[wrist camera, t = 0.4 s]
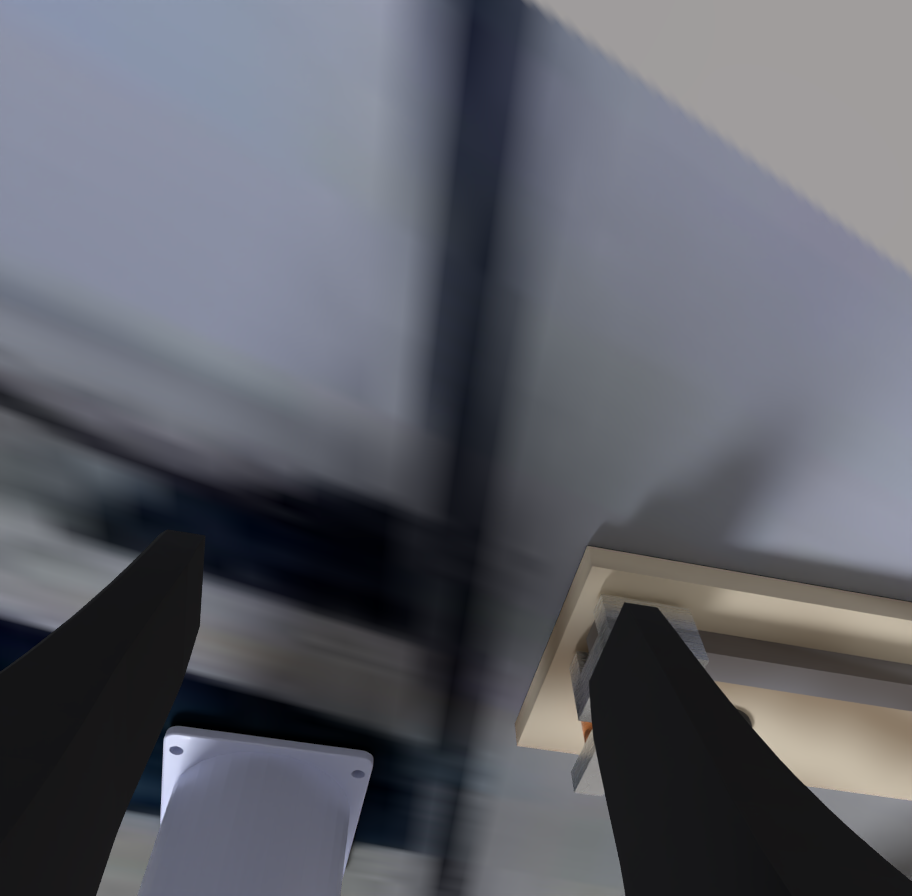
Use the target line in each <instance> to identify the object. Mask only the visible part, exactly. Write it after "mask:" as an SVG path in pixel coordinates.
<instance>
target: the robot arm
mask: <svg viewBox="0 0 912 896" xmlns="http://www.w3.org/2000/svg"><path fill="white" fill-rule="evenodd" d="M204 548H205V536H204V535H198V534H192V533H185V532H179V531H173V530H166V531H164V532H163V533H161V534H160V535H159V536H158V537H157V538H156V539H155V540H154V541H153V542H152V543H151V544H150V545H149V546H148V547H147V548H146V549H145V550H144V551H143V552H142V553H141V554H140V555H139V556H138V557H137V558H136V559H135V560H134V561H133V562H132V563H131V564H130V565H129V566H128V567H127V568H126V569H125V570H124V571H123V572H121V573H120V574H119V575H118V576H117V577H116V578H115V579H114V580H113V581H112V582H111V583H110V584H109V585H108V586H106V587H105V588H104V589H103V590H102V591H101V592H100V593H98V594H97V595H96V596H95V597H94V598H93V599H92V600H91V601H89V602H88V603H87V604H86V605H85V606H84V607H83V608H82V609H80V610H79V611H78V612H77V613H76V614H75V615H73V616H72V617H71V618H70V619H69V620H67V621H66V622H65V623H64V624H62V625H61V626H60V627H59V628H57V629H56V630H55V631H54V632H52V633H51V634H50V635H48V636H47V637H46V638H45V639H43V640H42V641H41V642H40V643H38V644H37V645H36V646H35V647H33V648H32V649H31V650H30V651H28V652H27V653H26V654H24V655H23V656H21V657H20V658H19V659H17V660H16V661H15V662H13V663H12V664H11V665H9V666H8V667H6V668H5V669H4V670H2V671H1V672H0V896H96V894H97V891H98V888H99V885H100V882H101V879H102V876H103V873H104V870H105V867H106V864H107V861H108V858H109V855H110V852H111V849H112V846H113V843H114V840H115V837H116V835H117V832H118V829H119V827H120V824H121V822H122V819H123V817H124V814H125V812H126V809H127V807H128V804H129V802H130V800H131V798H132V795H133V793H134V791H135V789H136V786H137V784H138V782H139V780H140V777H141V775H142V773H143V771H144V768H145V766H146V764H147V762H148V759H149V757H150V755H151V753H152V750H153V748H154V746H155V744H156V741H157V739H158V737H159V735H160V732H161V730H162V728H163V726H164V723H165V721H166V719H167V716H168V714H169V712H170V710H171V707H172V705H173V703H174V700H175V698H176V696H177V693H178V691H179V689H180V686H181V684H182V682H183V679H184V675H185V672H186V669H187V666H188V663H189V660H190V656H191V653H192V650H193V646H194V643H195V640H196V637H197V633H198V630H199V627H200V613H201V597H202V581H203V564H204ZM589 693H590V708H591V720H592V730H593V739H594V744H595V749H596V754H597V759H598V764H599V769H600V773H601V778H602V783H603V787H604V792H605V797H606V801H607V806H608V810H609V815H610V820H611V824H612V829H613V833H614V838H615V843H616V847H617V852H618V857H619V861H620V866H621V872H622V878H623V883H624V889H625V896H912V881H911V880H909V879H908V878H907V877H906V876H905V875H903V874H902V873H901V872H900V871H898V870H897V869H896V868H895V867H894V866H892V865H891V864H890V863H889V862H888V861H886V860H885V859H884V858H883V857H882V856H881V855H879V854H878V853H877V852H876V851H875V850H874V849H873V848H872V847H870V846H869V845H868V844H867V843H866V842H865V841H864V840H862V839H861V838H860V837H859V836H858V835H857V834H856V833H854V832H853V831H852V830H851V829H850V828H849V827H848V826H847V825H846V824H844V823H843V822H842V821H841V820H840V819H839V818H838V817H837V816H836V815H835V814H834V813H833V812H832V811H831V810H829V809H828V808H827V807H826V806H825V805H824V804H823V803H822V802H821V801H820V800H819V799H818V798H817V797H816V796H815V795H814V794H813V793H812V792H811V791H810V790H809V789H808V788H807V787H806V786H805V785H804V784H803V783H802V782H801V781H800V780H799V779H798V778H797V777H796V776H795V775H794V774H793V773H792V771H791V770H790V769H789V768H788V767H787V766H786V765H785V764H784V763H783V762H782V761H781V760H780V759H779V758H778V756H777V755H776V754H775V753H774V752H773V751H772V750H771V749H770V747H769V746H768V745H767V744H766V743H765V742H764V741H763V739H762V738H761V737H760V736H759V735H758V734H757V733H756V732H755V730H754V729H753V728H752V727H751V726H750V725H749V723H748V722H747V721H746V720H745V719H744V717H743V716H742V715H741V714H740V713H739V711H738V710H737V709H736V708H735V707H734V705H733V704H732V703H731V702H730V700H729V699H728V698H727V697H726V695H725V694H724V693H723V692H722V690H721V689H720V688H719V687H718V685H717V684H716V683H715V682H714V680H713V679H712V678H711V676H710V675H709V674H708V673H707V671H706V670H705V669H704V667H703V666H702V665H701V663H700V662H699V661H698V659H697V658H696V657H695V656H694V654H693V653H692V652H691V650H690V649H689V648H688V646H687V645H686V644H685V642H684V641H683V640H682V638H681V637H680V636H679V634H678V633H677V632H676V630H675V629H674V628H673V627H672V625H671V624H670V623H669V621H668V620H667V619H666V618H665V616H664V615H663V614H662V613H661V611H660V610H659V609H658V608H657V607H652V606H645V605H639V604H633V603H626V602H624V604H623V606H622V608H621V611H620V613H619V615H618V617H617V620H616V622H615V624H614V626H613V629H612V631H611V633H610V635H609V638H608V640H607V642H606V644H605V647H604V649H603V651H602V653H601V656H600V658H599V660H598V662H597V665H596V667H595V669H594V671H593V674H592V676H591V678H590V680H589ZM372 768H373V756H372V755H371V754H370V753H368V752H367V751H363V750H356V749H348V748H341V747H334V746H326V745H319V744H311V743H304V742H296V741H289V740H281V739H274V738H266V737H259V736H252V735H244V734H237V733H229V732H222V731H214V730H207V729H199V728H192V727H185V726H173V727H170V728H169V729H168V730H167V732H166V734H165V737H164V743H163V768H162V793H161V818H160V829H159V832H158V835H157V838H156V841H155V844H154V847H153V850H152V853H151V856H150V859H149V862H148V865H147V868H146V871H145V874H144V877H143V880H142V883H141V886H140V889H139V892H138V895H137V896H340V895H341V886H342V879H343V875H344V872H345V868H346V864H347V861H348V857H349V853H350V849H351V846H352V842H353V838H354V835H355V831H356V827H357V824H358V820H359V816H360V812H361V809H362V805H363V801H364V798H365V794H366V790H367V787H368V783H369V779H370V775H371V772H372Z"/></svg>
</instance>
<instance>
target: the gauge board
mask: <svg viewBox="0 0 912 896" xmlns="http://www.w3.org/2000/svg"><path fill="white" fill-rule="evenodd" d="M601 594H605V595H611V596H617V597H623V598H629V599H635V600H641V601H647V602H653V603H659V604H665V605H671V606H677V607H683V608H689V609H690V611H691V614H692V616H693V619H694V622H695V624H696V627H697V630H698V632H699V635H700V638H701V640H702V643H703V646H704V648H705V651H706V654H707V656H708V659H709V662H708V664H707V666H706V668H705V670H706V671H707V673H708V674H709V675H710V676H711V678H712V679H713V680H714V682H715V683H716V684H717V685H718V687H719V688H720V689H721V690H722V692H723V693H724V694H725V695H726V697H727V698H728V699H729V700H730V702H731V703H732V704H733V705H734V707H735V708H736V709H737V710H738V711H739V713H740V714H741V715H742V716H743V717H744V719H745V720H746V721H747V722H748V723H749V725H750V726H751V727H752V728H753V729H754V730H755V732H756V733H757V734H758V735H759V736H760V737H761V738H762V739H763V741H764V742H765V743H766V744H767V745H768V746H769V747H770V749H771V750H772V751H773V752H774V753H775V754H776V755H777V756H778V758H779V759H780V760H781V761H782V762H783V763H784V764H785V765H786V766H787V767H788V768H789V769H790V770H791V771H792V773H793V774H794V775H795V776H796V777H797V778H798V779H799V780H800V781H801V782H802V783H803V784H804V785H805V786H810V787H817V788H825V789H832V790H839V791H846V792H853V793H861V794H868V795H875V796H882V797H890V798H897V799H904V800H911V801H912V602H907V601H901V600H895V599H889V598H884V597H878V596H872V595H866V594H861V593H855V592H849V591H843V590H838V589H832V588H826V587H821V586H815V585H809V584H803V583H798V582H792V581H786V580H780V579H775V578H769V577H763V576H758V575H752V574H746V573H740V572H735V571H729V570H723V569H717V568H712V567H706V566H700V565H695V564H689V563H683V562H677V561H672V560H666V559H660V558H654V557H649V556H643V555H637V554H631V553H626V552H620V551H614V550H609V549H603V548H597V547H591V546H587V548H586V550H585V553H584V555H583V558H582V560H581V563H580V565H579V568H578V570H577V572H576V575H575V577H574V580H573V582H572V585H571V587H570V590H569V592H568V595H567V597H566V600H565V602H564V604H563V607H562V609H561V612H560V614H559V617H558V619H557V622H556V624H555V627H554V629H553V632H552V634H551V636H550V639H549V641H548V644H547V646H546V649H545V651H544V654H543V656H542V659H541V661H540V663H539V666H538V668H537V671H536V673H535V676H534V678H533V681H532V683H531V686H530V688H529V691H528V693H527V695H526V698H525V700H524V703H523V705H522V708H521V710H520V713H519V715H518V718H517V720H516V723H515V728H516V740H517V746H521V747H529V748H536V749H543V750H550V751H558V752H565V753H572V754H579V755H580V753H581V751H582V749H583V747H584V745H585V742H584V736H583V731H582V725H581V721H578V716H577V710H576V704H575V698H574V693H573V687H572V681H571V675H570V670H569V666H570V663H571V661H572V659H573V657H574V654H575V652H576V651H582V652H589V654H590V652H591V650H592V647H593V645H594V643H595V641H596V638H597V636H598V632H597V628H596V623H595V619H594V614H593V611H594V608H595V606H596V604H597V602H598V599H599V597H600V595H601Z"/></svg>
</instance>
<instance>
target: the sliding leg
mask: <svg viewBox="0 0 912 896" xmlns="http://www.w3.org/2000/svg"><path fill="white" fill-rule="evenodd" d="M624 602H626V603H633V604H639V605H645V606H652V607H657V608H658V609H659V610H660V611H661V613H662V614H663V615H664V616H665V618H666V619H667V620H668V621H669V623H670V624H671V625H672V627H673V628H674V629H675V630H676V632H677V633H678V634H679V636H680V637H681V638H682V640H683V641H684V642H685V644H686V645H687V646H688V648H689V649H690V650H691V652H692V653H693V654H694V656H695V657H696V658H697V659H698V661H699V662H700V663H701V665H702V666H703V667H704V669H705V668H706V666H707V664H708V662H709V659H708V656H707V654H706V651H705V648H704V646H703V643H702V640H701V638H700V635H699V632H698V630H697V627H696V624H695V622H694V619H693V616H692V614H691V611H690V609H689V608H683V607H677V606H671V605H665V604H659V603H653V602H647V601H641V600H635V599H629V598H623V597H617V596H611V595H605V594H601V595H600V597H599V599H598V602H597V604H596V606H595V608H594V611H593V614H594V619H595V623H596V628H597V632H598V636H597V638H596V641H595V643H594V645H593V647H592V650H591V652H590V654H589V652H582V651H576V652H575V654H574V657H573V659H572V661H571V663H570V666H569V670H570V675H571V681H572V687H573V693H574V698H575V704H576V710H577V716H578V721H581V725H582V731H583V736H584V742H585V745H584V747H583V749H582V751H581V753H580V755H579V757H578V759H577V761H576V763H575V765H574V767H573V769H572V771H571V774H572V781H573V787H574V793H581V794H589V795H596V796H603V794H604V787H603V783H602V778H601V773H600V769H599V764H598V759H597V754H596V749H595V744H594V739H593V730H592V720H591V708H590V693H589V680H590V678H591V676H592V674H593V671H594V669H595V667H596V665H597V662H598V660H599V658H600V656H601V653H602V651H603V649H604V647H605V644H606V642H607V640H608V638H609V635H610V633H611V631H612V629H613V626H614V624H615V622H616V620H617V617H618V615H619V613H620V611H621V608H622V606H623V604H624Z"/></svg>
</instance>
